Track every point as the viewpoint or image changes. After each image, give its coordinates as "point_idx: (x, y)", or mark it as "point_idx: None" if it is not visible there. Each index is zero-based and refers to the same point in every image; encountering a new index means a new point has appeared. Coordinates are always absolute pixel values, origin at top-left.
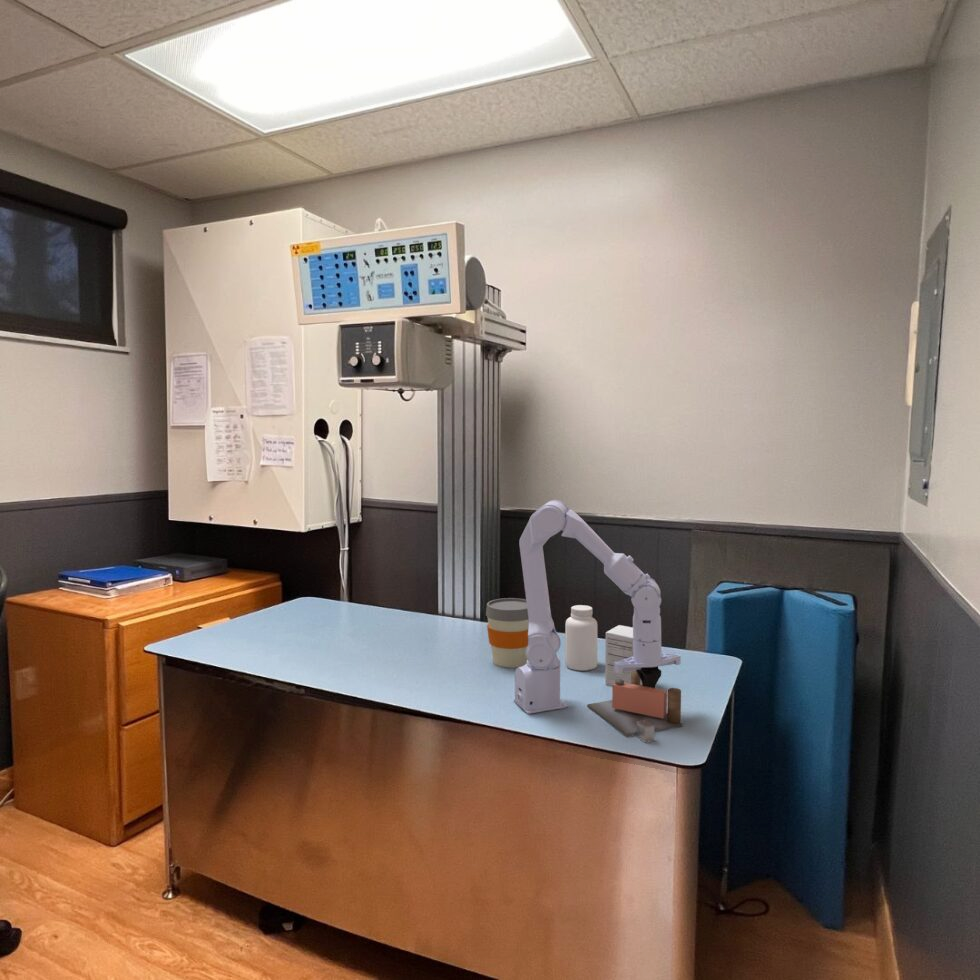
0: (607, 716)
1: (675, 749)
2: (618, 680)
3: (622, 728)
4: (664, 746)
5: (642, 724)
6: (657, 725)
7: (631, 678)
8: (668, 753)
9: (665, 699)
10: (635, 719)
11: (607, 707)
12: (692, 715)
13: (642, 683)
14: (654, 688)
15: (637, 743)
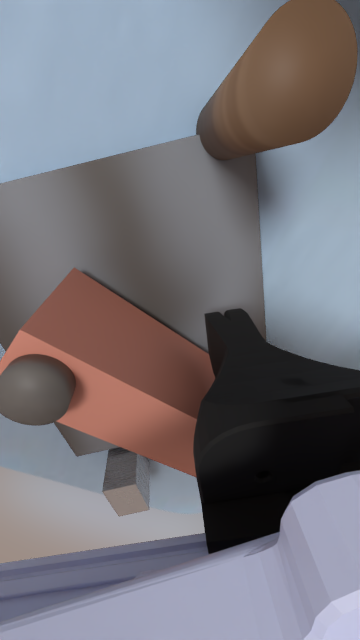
0: None
1: (183, 490)
2: (20, 398)
3: (70, 431)
4: (164, 481)
5: (115, 505)
6: None
7: (227, 102)
8: (160, 501)
9: None
10: None
11: (30, 266)
12: (347, 344)
13: (226, 350)
14: None
15: (102, 471)
